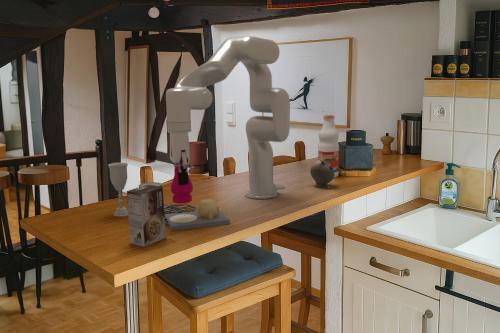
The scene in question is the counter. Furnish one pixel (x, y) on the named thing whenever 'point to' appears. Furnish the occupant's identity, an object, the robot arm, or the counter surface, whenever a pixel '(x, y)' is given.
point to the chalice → (119, 183)
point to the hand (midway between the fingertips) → (181, 181)
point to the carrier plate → (198, 217)
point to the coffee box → (146, 215)
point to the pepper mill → (180, 188)
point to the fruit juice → (329, 144)
